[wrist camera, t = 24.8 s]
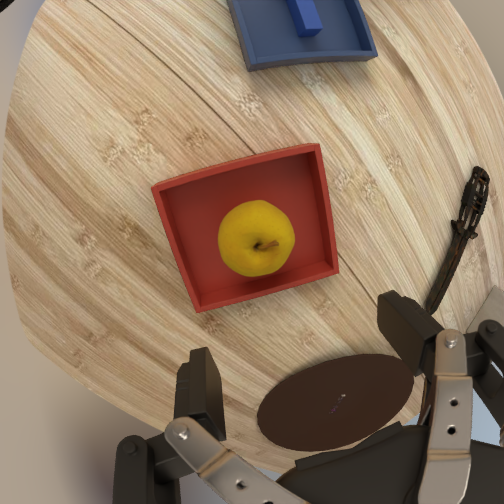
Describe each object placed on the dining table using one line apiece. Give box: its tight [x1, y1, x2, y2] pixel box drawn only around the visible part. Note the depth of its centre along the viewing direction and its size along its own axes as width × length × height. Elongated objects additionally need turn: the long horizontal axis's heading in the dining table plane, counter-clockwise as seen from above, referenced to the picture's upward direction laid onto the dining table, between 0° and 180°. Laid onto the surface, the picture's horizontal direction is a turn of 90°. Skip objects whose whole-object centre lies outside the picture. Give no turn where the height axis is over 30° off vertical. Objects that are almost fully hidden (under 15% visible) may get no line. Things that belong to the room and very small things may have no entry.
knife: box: [426, 166, 490, 315], centre depth 32 cm, size 25×6×1 cm, turn 159°
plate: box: [257, 354, 414, 452], centre depth 40 cm, size 28×28×4 cm
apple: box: [218, 200, 295, 277], centre depth 24 cm, size 6×6×8 cm
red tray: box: [151, 143, 339, 313], centre depth 27 cm, size 15×13×3 cm
